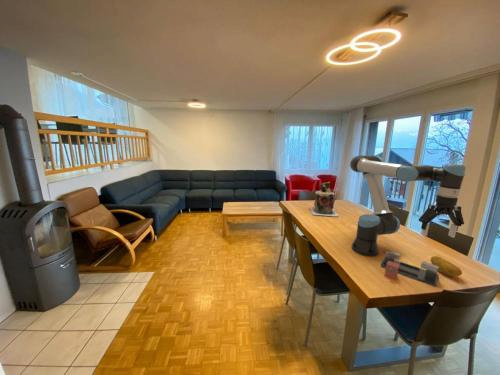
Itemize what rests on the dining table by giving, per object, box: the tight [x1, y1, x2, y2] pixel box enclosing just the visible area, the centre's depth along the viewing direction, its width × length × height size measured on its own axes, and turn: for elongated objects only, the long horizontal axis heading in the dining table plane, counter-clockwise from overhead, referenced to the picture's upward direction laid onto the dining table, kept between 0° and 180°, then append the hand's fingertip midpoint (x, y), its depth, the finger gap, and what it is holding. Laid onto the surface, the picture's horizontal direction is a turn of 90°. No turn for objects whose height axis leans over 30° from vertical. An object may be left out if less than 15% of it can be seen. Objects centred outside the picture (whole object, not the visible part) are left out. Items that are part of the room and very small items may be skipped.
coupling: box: [384, 261, 399, 281], centre depth 108 cm, size 8×5×7 cm, turn 136°
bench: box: [379, 249, 439, 288], centre depth 112 cm, size 24×12×8 cm, turn 46°
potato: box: [430, 255, 463, 277], centre depth 112 cm, size 7×14×7 cm, turn 3°
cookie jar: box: [309, 181, 339, 218], centre depth 206 cm, size 25×25×32 cm
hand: (437, 236), depth 105 cm, fingers open, 13 cm apart
